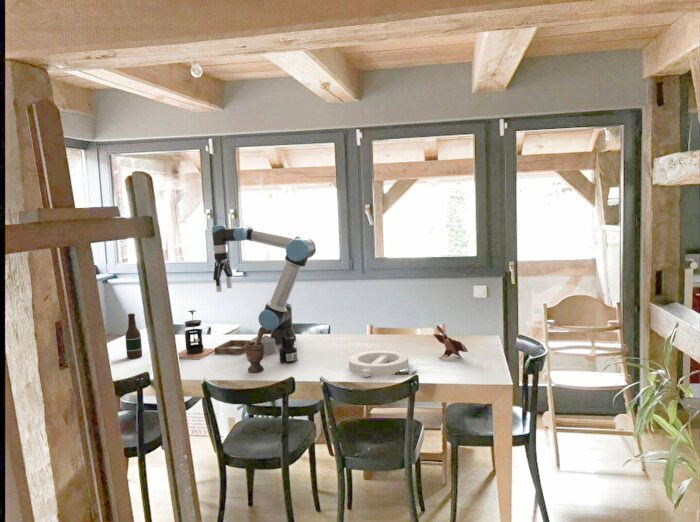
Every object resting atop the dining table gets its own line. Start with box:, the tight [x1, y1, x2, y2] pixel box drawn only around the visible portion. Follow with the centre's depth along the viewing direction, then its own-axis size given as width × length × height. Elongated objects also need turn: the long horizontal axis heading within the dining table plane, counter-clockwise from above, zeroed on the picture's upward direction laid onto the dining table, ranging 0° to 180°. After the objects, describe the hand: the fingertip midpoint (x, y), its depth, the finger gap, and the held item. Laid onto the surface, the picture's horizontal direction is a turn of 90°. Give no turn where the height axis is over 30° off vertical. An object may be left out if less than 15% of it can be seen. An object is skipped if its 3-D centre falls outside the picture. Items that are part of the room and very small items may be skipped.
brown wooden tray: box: [214, 339, 252, 355], centre depth 314 cm, size 16×19×3 cm
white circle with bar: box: [348, 349, 409, 378], centre depth 267 cm, size 28×28×5 cm
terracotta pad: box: [177, 347, 215, 360], centre depth 308 cm, size 18×18×1 cm
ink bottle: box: [278, 336, 298, 364], centre depth 284 cm, size 10×9×12 cm
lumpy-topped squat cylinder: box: [250, 334, 277, 356], centre depth 304 cm, size 10×13×9 cm
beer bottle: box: [125, 313, 143, 360], centre depth 306 cm, size 8×8×24 cm
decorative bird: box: [433, 325, 468, 361], centre depth 275 cm, size 28×18×15 cm, turn 22°
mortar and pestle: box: [245, 326, 266, 374], centre depth 271 cm, size 12×9×20 cm
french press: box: [184, 309, 204, 354], centre depth 307 cm, size 12×9×23 cm
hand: (224, 289), depth 320 cm, fingers open, 13 cm apart
